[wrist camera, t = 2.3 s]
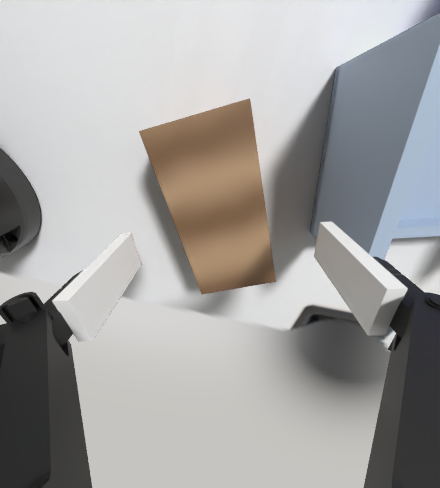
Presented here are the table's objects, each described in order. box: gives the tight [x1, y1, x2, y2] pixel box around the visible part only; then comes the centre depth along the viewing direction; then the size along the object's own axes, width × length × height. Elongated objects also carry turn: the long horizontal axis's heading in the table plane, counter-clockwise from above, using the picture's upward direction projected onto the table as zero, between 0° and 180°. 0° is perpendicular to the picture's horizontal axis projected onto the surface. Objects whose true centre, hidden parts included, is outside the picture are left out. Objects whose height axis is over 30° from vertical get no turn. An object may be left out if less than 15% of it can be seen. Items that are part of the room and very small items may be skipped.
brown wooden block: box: [139, 99, 276, 294], centre depth 20 cm, size 16×8×6 cm, turn 14°
